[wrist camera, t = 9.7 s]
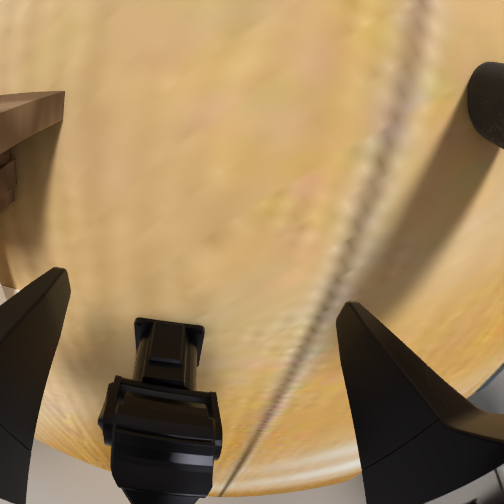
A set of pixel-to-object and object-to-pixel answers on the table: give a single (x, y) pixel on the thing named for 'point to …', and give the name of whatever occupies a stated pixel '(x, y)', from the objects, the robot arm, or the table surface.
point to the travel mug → (488, 101)
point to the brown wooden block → (23, 129)
